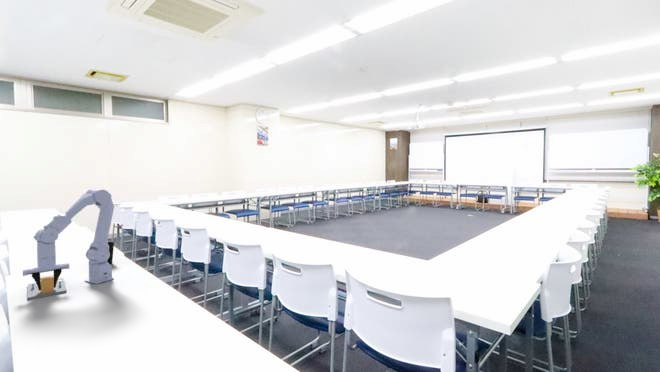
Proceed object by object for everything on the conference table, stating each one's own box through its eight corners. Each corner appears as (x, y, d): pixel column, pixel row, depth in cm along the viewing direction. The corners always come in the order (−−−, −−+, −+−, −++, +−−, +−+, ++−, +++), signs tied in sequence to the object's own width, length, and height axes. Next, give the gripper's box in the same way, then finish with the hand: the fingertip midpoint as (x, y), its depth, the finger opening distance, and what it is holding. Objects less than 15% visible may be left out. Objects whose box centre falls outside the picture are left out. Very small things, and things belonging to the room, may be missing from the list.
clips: (61, 286, 136) (61, 280, 136) (31, 291, 129) (31, 286, 129) (60, 282, 140) (60, 277, 140) (31, 287, 134) (31, 282, 134)
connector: (53, 291, 130) (53, 277, 130) (41, 293, 127) (40, 279, 127) (53, 288, 133) (53, 275, 133) (40, 291, 130) (40, 277, 130)
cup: (107, 266, 169) (107, 245, 168) (94, 266, 169) (93, 244, 169) (117, 262, 177) (117, 241, 176) (104, 262, 177) (104, 241, 176)
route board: (66, 292, 132) (66, 289, 132) (27, 300, 123) (27, 297, 123) (62, 280, 147) (62, 277, 146) (27, 286, 138) (27, 284, 138)
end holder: (53, 283, 139) (53, 278, 139) (38, 286, 135) (38, 281, 135) (53, 280, 144) (53, 274, 144) (38, 282, 140) (38, 277, 140)
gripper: (68, 252, 138) (68, 281, 138) (22, 258, 127) (23, 290, 128) (69, 255, 133) (70, 286, 133) (22, 261, 122) (23, 294, 123)
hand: (47, 288), depth 130 cm, fingers closed on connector, 4 cm apart
